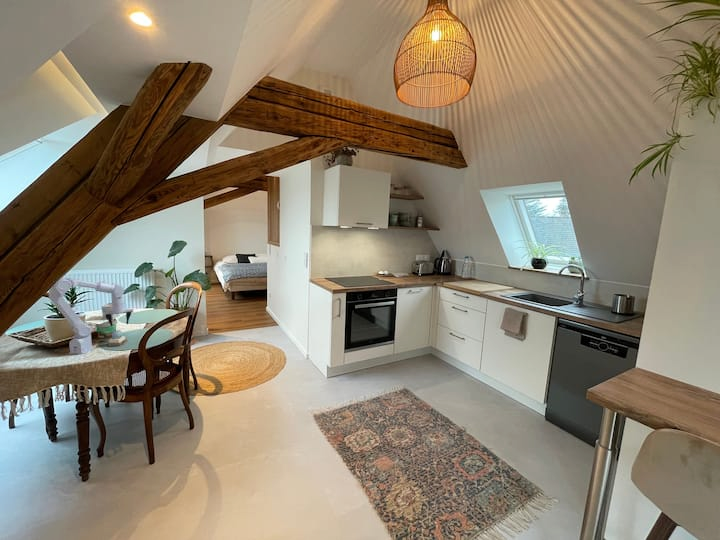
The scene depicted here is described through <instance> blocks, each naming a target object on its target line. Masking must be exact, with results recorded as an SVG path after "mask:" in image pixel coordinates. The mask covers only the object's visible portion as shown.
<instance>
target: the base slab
mask: <svg viewBox="0 0 720 540" xmlns="http://www.w3.org/2000/svg"><path fill="white" fill-rule="evenodd" d="M126 342H127V343H128V338H125V340H123V341H121V342H120V343H109V342H108V343H107V345H108V347H121V345H122V346H123V345H125V344H126ZM124 343H125V344H124Z"/></svg>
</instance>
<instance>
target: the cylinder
mask: <svg viewBox="0 0 720 540" xmlns="http://www.w3.org/2000/svg"><path fill="white" fill-rule="evenodd" d="M122 336H123V335H122V330H117V329H116V331H113V332H112V337H111V338H112V339H119V338H122Z"/></svg>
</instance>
